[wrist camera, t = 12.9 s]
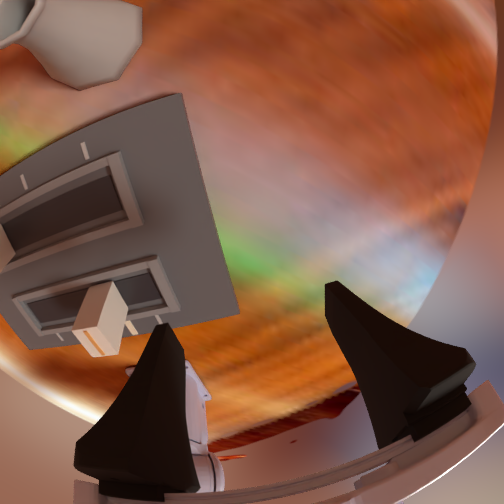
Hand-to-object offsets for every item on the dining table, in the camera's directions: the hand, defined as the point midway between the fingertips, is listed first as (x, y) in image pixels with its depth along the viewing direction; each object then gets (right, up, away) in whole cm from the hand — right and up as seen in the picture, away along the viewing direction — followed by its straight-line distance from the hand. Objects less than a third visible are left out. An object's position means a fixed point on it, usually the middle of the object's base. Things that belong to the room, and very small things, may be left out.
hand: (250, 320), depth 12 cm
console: (-15, +3, +7) cm, 17 cm away
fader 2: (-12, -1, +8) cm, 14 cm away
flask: (-10, +17, 0) cm, 20 cm away
